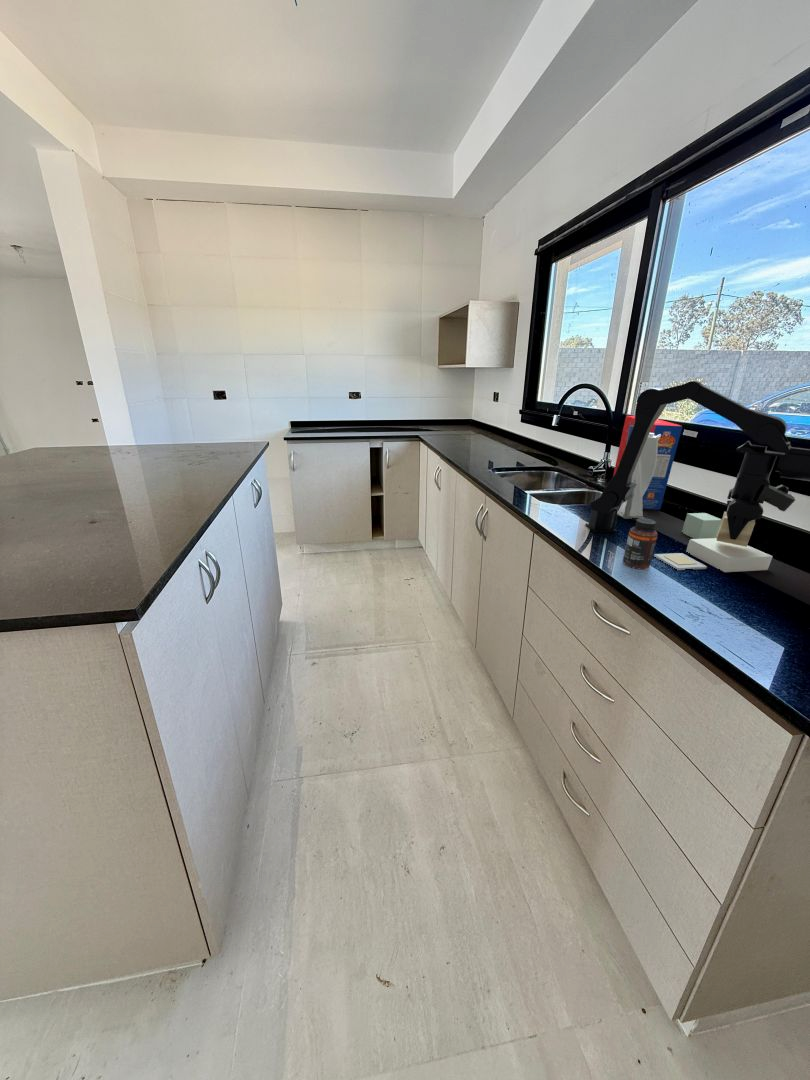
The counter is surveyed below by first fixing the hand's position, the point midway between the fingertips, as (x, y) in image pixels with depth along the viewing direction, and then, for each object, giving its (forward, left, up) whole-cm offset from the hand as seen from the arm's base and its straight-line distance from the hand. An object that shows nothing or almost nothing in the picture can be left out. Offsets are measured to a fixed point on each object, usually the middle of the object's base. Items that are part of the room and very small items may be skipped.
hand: (732, 535), depth 105 cm
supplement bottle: (-25, 0, -7) cm, 26 cm away
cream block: (0, 0, -7) cm, 7 cm away
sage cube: (+7, +16, -7) cm, 19 cm away
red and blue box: (+14, +54, -7) cm, 56 cm away
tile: (-13, 0, -7) cm, 15 cm away
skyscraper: (-1, +36, -7) cm, 37 cm away
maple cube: (0, 0, -1) cm, 1 cm away
